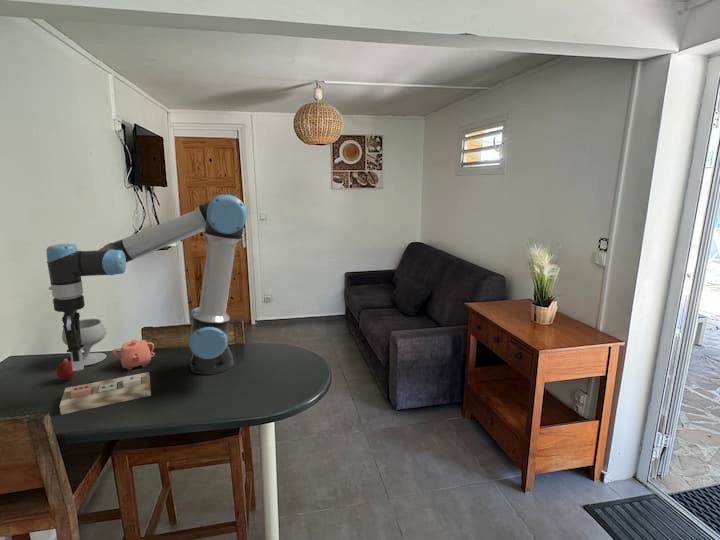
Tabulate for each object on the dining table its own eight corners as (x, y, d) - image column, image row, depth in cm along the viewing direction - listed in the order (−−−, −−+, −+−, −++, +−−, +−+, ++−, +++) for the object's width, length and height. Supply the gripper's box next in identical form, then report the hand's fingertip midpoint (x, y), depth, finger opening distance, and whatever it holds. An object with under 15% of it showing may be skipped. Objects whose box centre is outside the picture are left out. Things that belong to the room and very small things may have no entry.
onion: (67, 385, 140) (64, 363, 138) (53, 383, 141) (50, 361, 139) (82, 377, 145) (79, 356, 144) (68, 375, 146) (65, 354, 145)
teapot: (137, 374, 148) (134, 349, 146) (112, 369, 151) (108, 345, 149) (161, 361, 159) (159, 337, 156) (137, 356, 162) (134, 333, 160)
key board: (149, 379, 143) (149, 372, 143) (150, 395, 133) (149, 387, 132) (67, 396, 132) (65, 388, 132) (61, 414, 122) (59, 405, 121)
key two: (118, 390, 136) (116, 381, 135) (117, 396, 132) (116, 387, 131) (100, 393, 134) (99, 384, 133) (99, 400, 129) (97, 391, 129)
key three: (92, 391, 132) (91, 382, 132) (91, 398, 128) (89, 389, 127) (74, 395, 130) (72, 386, 129) (72, 402, 126) (70, 393, 125)
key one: (141, 381, 139) (140, 373, 138) (141, 388, 135) (140, 379, 134) (124, 385, 137) (123, 376, 136) (124, 391, 132) (123, 382, 132)
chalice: (62, 371, 150) (55, 332, 147) (71, 356, 162) (65, 320, 159) (106, 364, 155) (101, 327, 152) (111, 350, 168) (107, 315, 165)
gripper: (56, 292, 126) (66, 363, 131) (48, 303, 115) (60, 380, 120) (85, 289, 130) (94, 359, 135) (80, 300, 118) (90, 375, 123)
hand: (78, 369), depth 127 cm, fingers closed
